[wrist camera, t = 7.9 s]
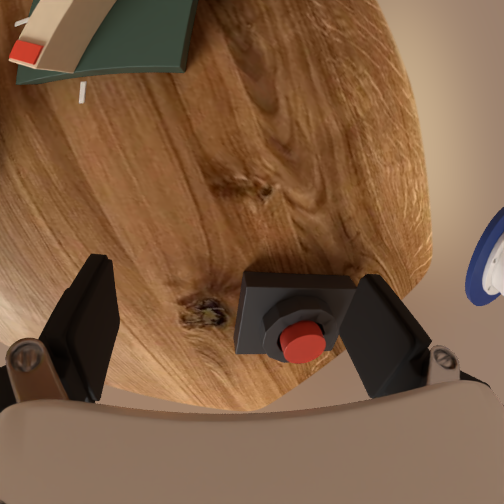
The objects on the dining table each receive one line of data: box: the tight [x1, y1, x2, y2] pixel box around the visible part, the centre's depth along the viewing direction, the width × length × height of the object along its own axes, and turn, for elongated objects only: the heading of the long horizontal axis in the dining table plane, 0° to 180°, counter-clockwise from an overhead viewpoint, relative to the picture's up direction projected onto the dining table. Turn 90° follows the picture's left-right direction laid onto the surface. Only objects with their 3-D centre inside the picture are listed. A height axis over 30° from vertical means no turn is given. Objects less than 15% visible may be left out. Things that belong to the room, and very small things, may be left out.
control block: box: [234, 271, 357, 363], centre depth 25 cm, size 10×8×4 cm
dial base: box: [15, 0, 199, 104], centre depth 11 cm, size 14×14×3 cm
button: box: [280, 320, 326, 364], centre depth 23 cm, size 4×4×2 cm
